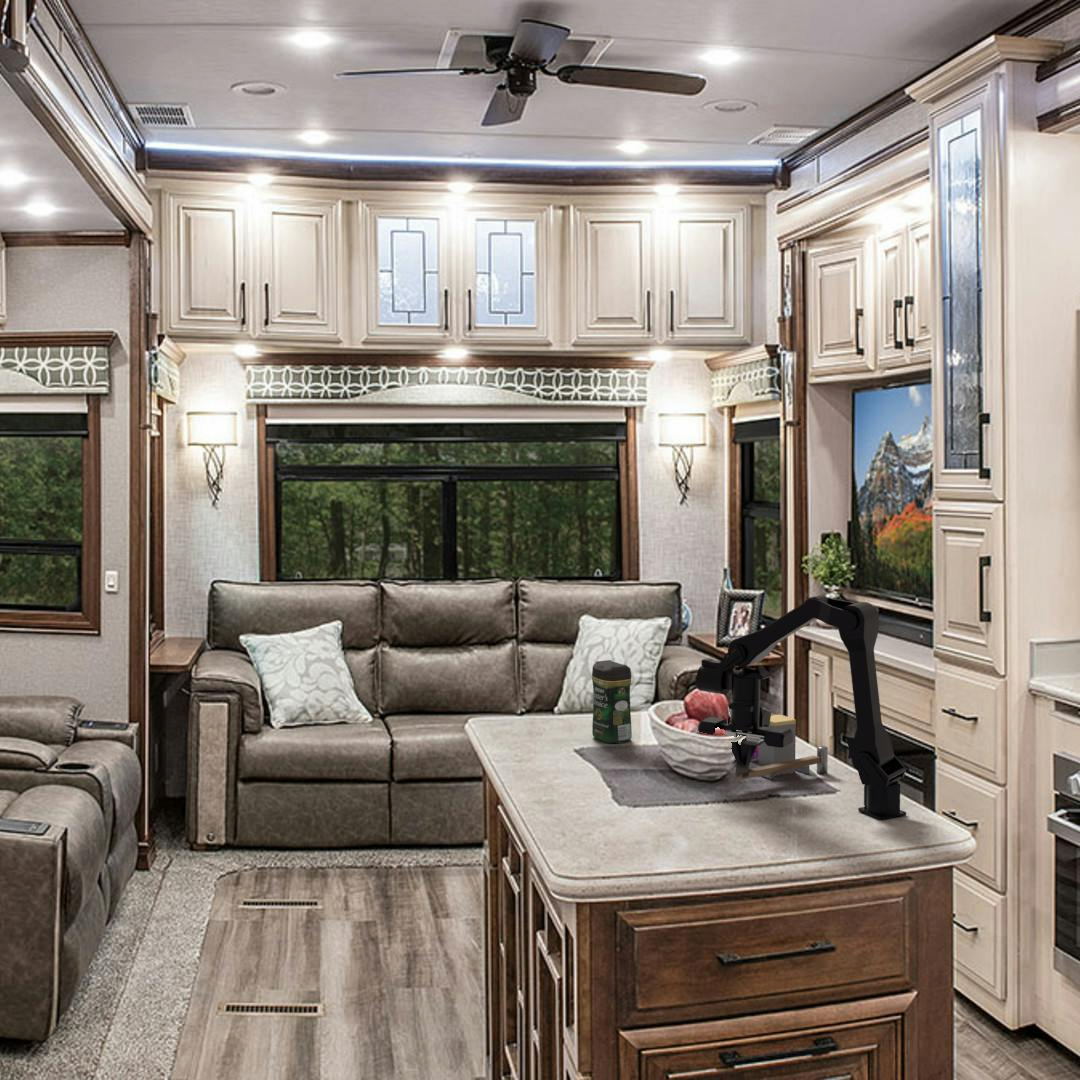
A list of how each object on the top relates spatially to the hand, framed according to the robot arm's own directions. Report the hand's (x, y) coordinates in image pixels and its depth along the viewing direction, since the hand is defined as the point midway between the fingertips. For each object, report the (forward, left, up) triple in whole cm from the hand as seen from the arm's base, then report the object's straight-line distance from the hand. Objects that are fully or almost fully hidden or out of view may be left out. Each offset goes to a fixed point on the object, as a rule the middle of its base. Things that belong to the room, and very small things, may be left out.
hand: (744, 773), depth 252 cm
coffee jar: (+46, +5, -3) cm, 47 cm away
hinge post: (+1, -20, -3) cm, 21 cm away
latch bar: (-1, -8, 0) cm, 8 cm away
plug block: (+6, -13, -3) cm, 15 cm away
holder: (+6, -13, -3) cm, 15 cm away
